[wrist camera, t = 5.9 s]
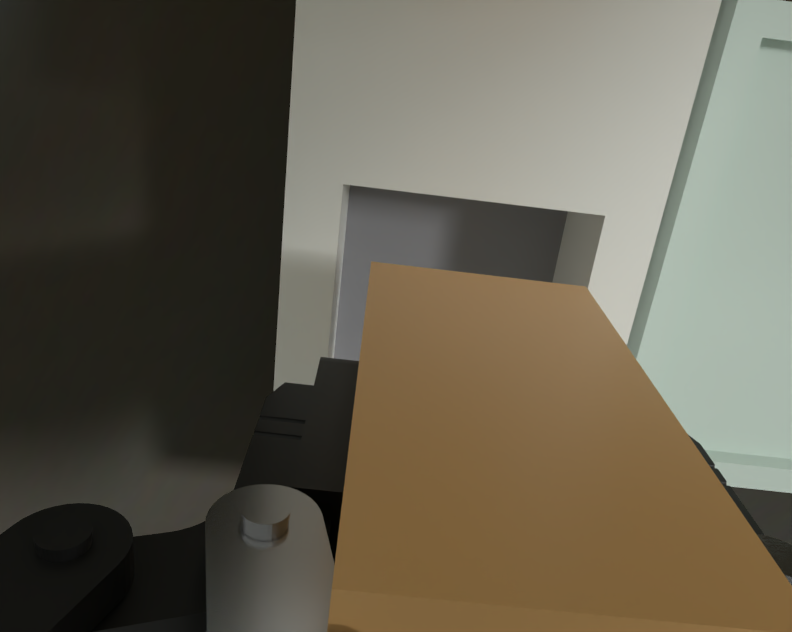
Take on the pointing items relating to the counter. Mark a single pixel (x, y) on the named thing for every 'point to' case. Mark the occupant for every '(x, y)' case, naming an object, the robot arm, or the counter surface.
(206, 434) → the counter surface
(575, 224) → the power strip
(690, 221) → the tray
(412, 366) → the plug
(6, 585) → the robot arm
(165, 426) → the counter surface
